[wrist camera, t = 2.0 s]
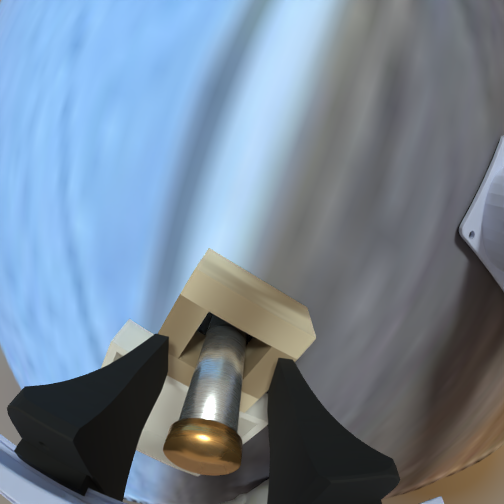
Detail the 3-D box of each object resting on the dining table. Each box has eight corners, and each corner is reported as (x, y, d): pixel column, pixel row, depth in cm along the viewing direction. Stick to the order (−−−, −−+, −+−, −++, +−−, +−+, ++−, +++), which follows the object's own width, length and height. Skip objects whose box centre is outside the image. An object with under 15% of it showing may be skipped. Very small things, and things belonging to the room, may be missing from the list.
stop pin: (260, 316, 15) (256, 457, 6) (237, 346, 16) (218, 481, 7) (221, 294, 15) (180, 427, 6) (200, 325, 15) (153, 456, 7)
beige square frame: (307, 307, 15) (316, 338, 12) (247, 378, 16) (244, 412, 13) (209, 247, 14) (195, 267, 11) (160, 331, 15) (142, 361, 13)
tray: (269, 394, 17) (269, 422, 14) (202, 454, 19) (197, 476, 17) (129, 318, 15) (111, 340, 13) (96, 399, 18) (83, 419, 16)
